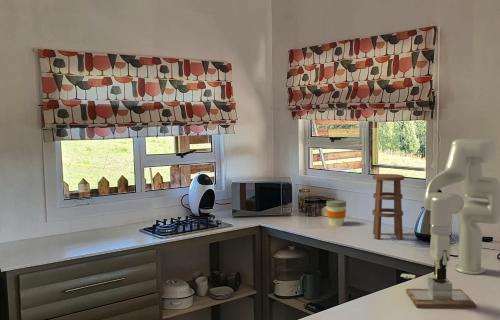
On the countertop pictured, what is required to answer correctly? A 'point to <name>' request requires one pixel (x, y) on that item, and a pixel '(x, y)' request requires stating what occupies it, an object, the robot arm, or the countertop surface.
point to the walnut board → (441, 301)
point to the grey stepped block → (439, 292)
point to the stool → (397, 208)
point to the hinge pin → (436, 273)
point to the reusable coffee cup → (336, 212)
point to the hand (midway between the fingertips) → (439, 276)
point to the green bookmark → (407, 276)
